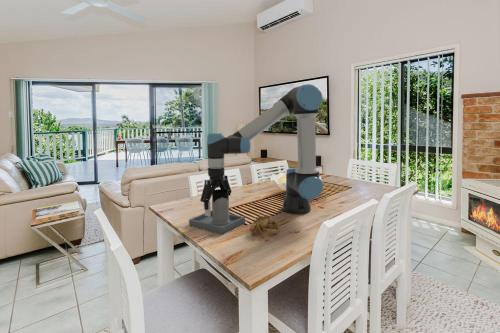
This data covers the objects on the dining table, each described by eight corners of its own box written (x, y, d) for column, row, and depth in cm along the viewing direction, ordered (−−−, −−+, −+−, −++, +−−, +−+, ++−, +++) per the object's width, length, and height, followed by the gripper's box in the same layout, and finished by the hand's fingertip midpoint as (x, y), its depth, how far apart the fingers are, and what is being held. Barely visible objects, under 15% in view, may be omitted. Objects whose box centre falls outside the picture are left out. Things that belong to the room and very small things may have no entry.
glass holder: (213, 225, 135) (212, 193, 133) (208, 216, 149) (207, 187, 147) (232, 223, 138) (231, 192, 136) (225, 214, 151) (224, 186, 149)
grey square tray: (244, 223, 142) (244, 217, 142) (222, 234, 128) (222, 228, 128) (212, 215, 153) (212, 210, 153) (189, 225, 139) (188, 219, 139)
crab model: (276, 240, 123) (276, 227, 122) (246, 237, 126) (246, 224, 125) (281, 226, 138) (282, 215, 137) (255, 224, 141) (255, 213, 140)
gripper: (226, 163, 148) (226, 204, 152) (191, 170, 128) (192, 218, 132) (238, 164, 144) (238, 206, 148) (204, 172, 124) (205, 221, 127)
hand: (217, 212), depth 140 cm, fingers open, 12 cm apart
